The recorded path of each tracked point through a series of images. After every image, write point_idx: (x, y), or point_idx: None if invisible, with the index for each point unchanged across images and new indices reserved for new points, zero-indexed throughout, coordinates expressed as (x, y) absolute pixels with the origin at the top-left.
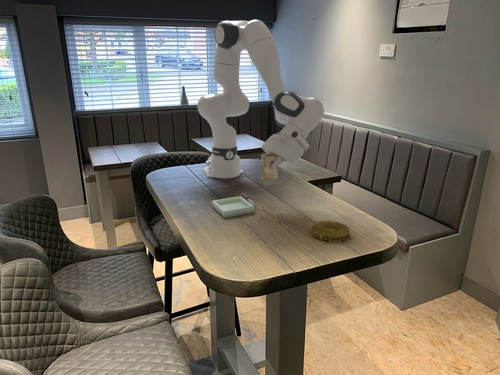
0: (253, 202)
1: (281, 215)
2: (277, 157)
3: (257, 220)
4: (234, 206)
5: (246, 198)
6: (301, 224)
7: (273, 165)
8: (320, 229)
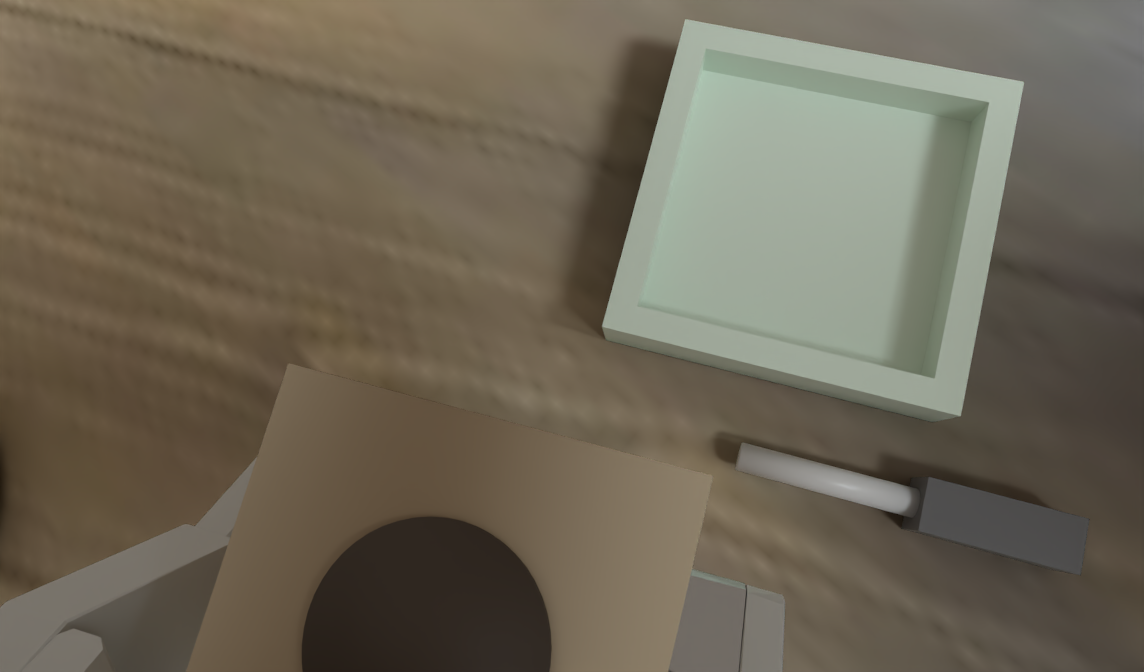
0: (765, 460)
1: None
2: None
3: (449, 244)
4: (809, 242)
5: (923, 485)
6: (129, 475)
7: (245, 488)
8: None
